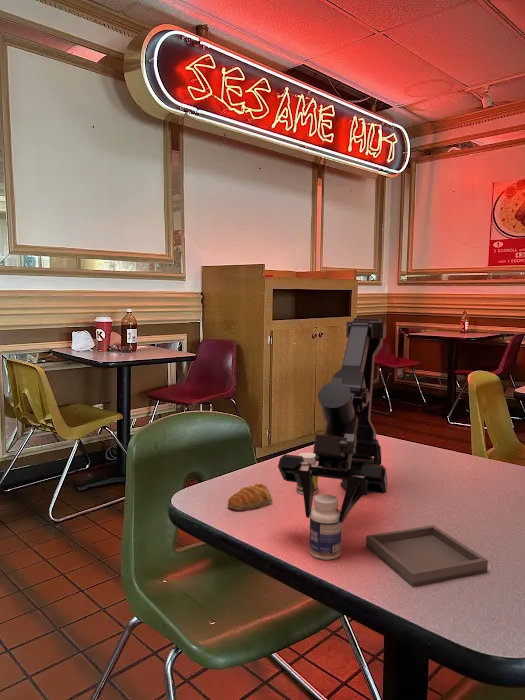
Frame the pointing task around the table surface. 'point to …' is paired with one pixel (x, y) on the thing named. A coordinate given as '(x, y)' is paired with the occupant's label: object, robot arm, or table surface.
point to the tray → (425, 555)
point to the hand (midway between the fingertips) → (323, 519)
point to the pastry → (250, 498)
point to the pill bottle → (325, 528)
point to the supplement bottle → (311, 460)
